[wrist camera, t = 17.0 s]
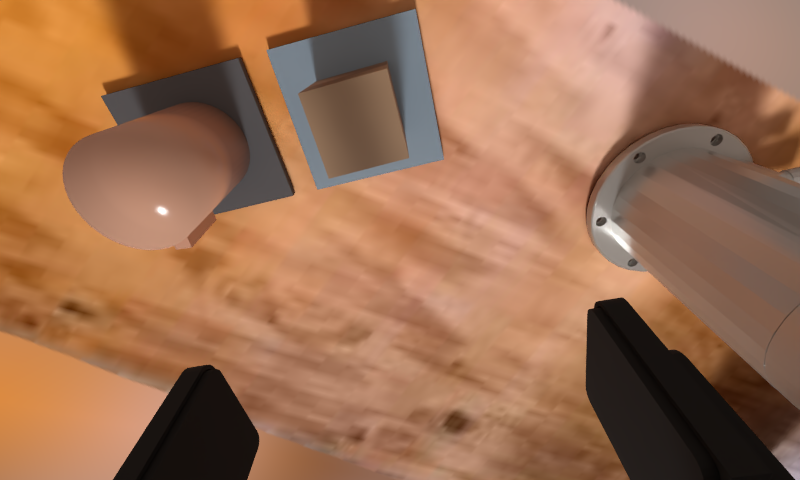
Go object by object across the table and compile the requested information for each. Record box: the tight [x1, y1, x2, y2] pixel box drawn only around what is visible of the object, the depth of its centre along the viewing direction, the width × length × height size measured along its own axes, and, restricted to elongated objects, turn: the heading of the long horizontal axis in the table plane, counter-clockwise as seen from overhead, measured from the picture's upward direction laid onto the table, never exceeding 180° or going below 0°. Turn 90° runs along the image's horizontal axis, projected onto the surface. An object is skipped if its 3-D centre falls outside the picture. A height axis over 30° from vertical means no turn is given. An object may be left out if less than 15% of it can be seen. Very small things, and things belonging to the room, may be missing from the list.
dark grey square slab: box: [101, 58, 295, 214], centre depth 28 cm, size 10×10×1 cm
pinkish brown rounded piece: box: [63, 102, 250, 250], centre depth 24 cm, size 7×8×9 cm
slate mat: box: [267, 9, 444, 189], centre depth 27 cm, size 10×10×1 cm
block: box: [298, 61, 409, 179], centre depth 24 cm, size 5×5×6 cm
